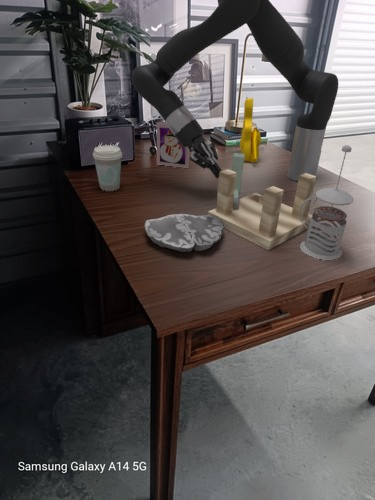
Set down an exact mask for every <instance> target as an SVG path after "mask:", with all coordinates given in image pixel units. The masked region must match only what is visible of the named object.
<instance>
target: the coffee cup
mask: <svg viewBox="0 0 375 500" xmlns="http://www.w3.org/2000/svg"><path fill="white" fill-rule="evenodd" d="M92 157H93V159H94V160H93V161H94V164H95V170H96V174H97V178H98V179H97V180H98V184H99V188H101V189H102V190H101V189H100V190H101V191H104V190H105V191H104V192H114V190H115V191H117V189H118V190H119V189H120V184H121V169H122V168H121V167H122V157H123V152H122V151H121V148H120V147H119V146H116V145H100V146H96V147H94V149H93V153H92Z"/></svg>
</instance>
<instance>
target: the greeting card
mask: <svg viewBox="0 0 375 500" xmlns="http://www.w3.org/2000/svg"><path fill="white" fill-rule="evenodd" d="M189 161H190V151H189V148H188V147H186V148H183V147H182V145H181V144H180V143H179V141H178V140H177V138H176V137H175V136H174V134H173V133H172V132H171V130H170V129H169V127H168V125H167V124H166V122H165V121H157V122H156V166H158V165H165V166H164V167H167V166H173V167H172V168H176V167H182V168H181V169H184V168H188V169H189Z"/></svg>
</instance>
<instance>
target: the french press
mask: <svg viewBox="0 0 375 500" xmlns="http://www.w3.org/2000/svg"><path fill="white" fill-rule="evenodd" d="M341 151H342V152H344V156H343V160H342V162H341V163H342V164H341V167H340V172H339V175H338V179H337V183H336V187H324V188H320V189H319V190H317V191H316V192H315V195H312V197H309V198H308V199H306V200H305V201H304V203H303V204H302V205H301V207H302V209H301V207H300V210H299V218H300V211H301V215H302V218H303V214H302V210H303V205H304V204H305V202H307V201H308V200H311V201H312V200H313V203H312V204H313V205H315V204H316V203H317V200H320V201H321V202H324V203H326V204H329V205H331V206H329V205H325V206H324V205H322V206H317V207H316V208H314V209H313V213H312V214H311V215H312V217H311V221H310V224H309V223H308V222H306V221H305V219H304V218H303V220H304V221H305V222H306V223H307V224H308V225H309V228H308V227H307V226H306V225H305V224H303V222H302V221H301V218H300V221H301V222H302V224H303V225H304V226H305V227H307V229H306V234H305V238H304V240H303V241H302V242H301V243H300V244H299V248H300V250H301V252H302V253H304V254H305V255H306V254H307V255H306V256H308V255H309V256H308V257H310V256H312V257H314V258H313V259H315V258H317V259H316V260H319V259H322V260H321V261H325V260H331V259H336V258H338V257H339V256H341V253H342V254H343V251H342V250H340V249H341V247H340V246H341V243H342V240H343V236H344V233H345V230H346V225H347V220H346V218H347V217H348V215H347V213H346V212H345V211H343V210H342V209H340V208H337V207H333V205H334V206H350V205H351V204H352V203H353V202H354V200H355V198H354V196H353V195H351V193H349V192H348V191H347V190H344V189H341V188H339V187H338V186H339V184H340V183H339V181H340V178H341V175H342V170H343V167H344V162H345V159H346V157H347V156H346V155H347V153H351V152H352V147H351V146H350V145H349V144H347V145H346V144H345V145H343V146H342V147H341ZM310 198H312V199H310ZM324 221H325V222H324ZM319 222H320V223H319ZM327 222H328V223H327ZM336 222H337V223H336ZM332 225H333V226H332ZM312 257H311V258H312ZM341 257H342V256H341ZM336 260H337V259H336Z"/></svg>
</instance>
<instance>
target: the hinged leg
mask: <svg viewBox="0 0 375 500" xmlns="http://www.w3.org/2000/svg"><path fill="white" fill-rule="evenodd" d="M244 165H245V161H244V154H241V152H238V153H237V152H233V156H232V166H231V171H234V172H237V174H236V183H235V192H234V201H233V209H238V208H239V204H240V199H241V198H239V195H241V189H242V181H243V174H244V173H243V172H244Z"/></svg>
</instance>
